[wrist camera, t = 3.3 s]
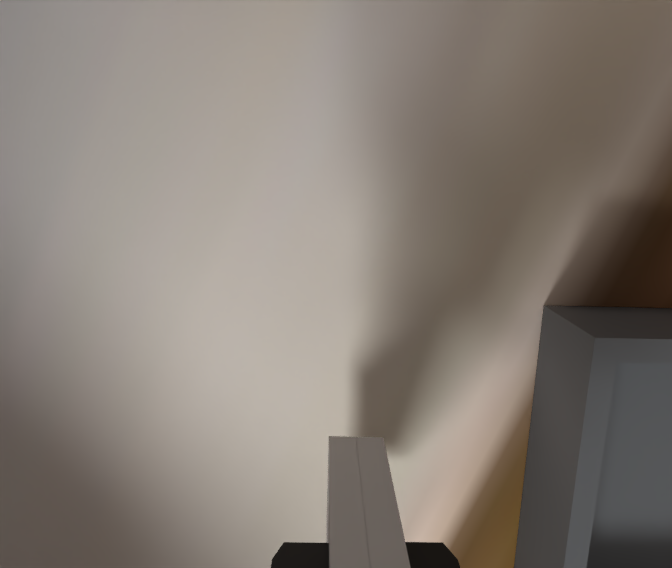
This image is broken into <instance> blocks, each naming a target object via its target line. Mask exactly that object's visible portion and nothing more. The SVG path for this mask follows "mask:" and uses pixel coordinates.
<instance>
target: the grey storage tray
mask: <svg viewBox="0 0 672 568" xmlns="http://www.w3.org/2000/svg"><path fill="white" fill-rule="evenodd" d="M514 568H672V308H633V307H586V306H544V309H543V318H542V326H541V335H540V344H539V353H538V362H537V370H536V379H535V388H534V397H533V406H532V414H531V423H530V432H529V441H528V450H527V458H526V467H525V476H524V485H523V494H522V502H521V511H520V520H519V529H518V538H517V546H516V555H515V564H514Z"/></svg>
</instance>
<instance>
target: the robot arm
mask: <svg viewBox="0 0 672 568" xmlns="http://www.w3.org/2000/svg"><path fill="white" fill-rule="evenodd" d="M271 568H460V565H459V562H458V560H457V558H456V557H455V556H454V555H453V554H452V553H451V552H450V550H449V549H448V548H447V547H446V546H445V545H444V544H443V543H427V542H405V539H404V534H403V529H402V525H401V520H400V515H399V510H398V506H397V501H396V496H395V491H394V486H393V482H392V477H391V472H390V467H389V463H388V458H387V453H386V448H385V444H384V439H383V437H340V436H329V451H328V488H327V543H289V542H284V543H283V545H282V546H281V547H280V549H279V550H278V552H277V553H276V554H275V556H274V557H273V559H272V564H271Z"/></svg>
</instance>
